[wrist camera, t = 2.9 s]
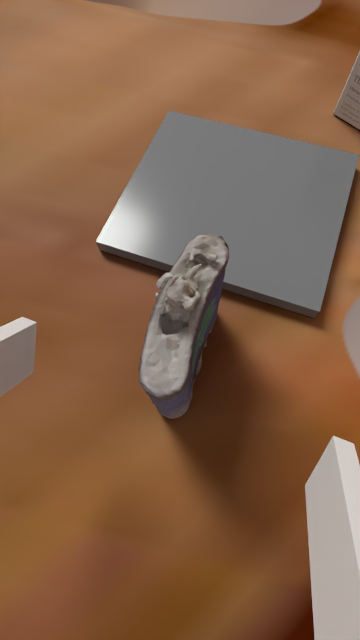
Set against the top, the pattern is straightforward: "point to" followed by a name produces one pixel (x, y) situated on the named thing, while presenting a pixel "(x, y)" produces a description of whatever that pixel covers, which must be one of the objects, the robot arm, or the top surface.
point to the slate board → (237, 207)
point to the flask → (182, 324)
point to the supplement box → (351, 98)
